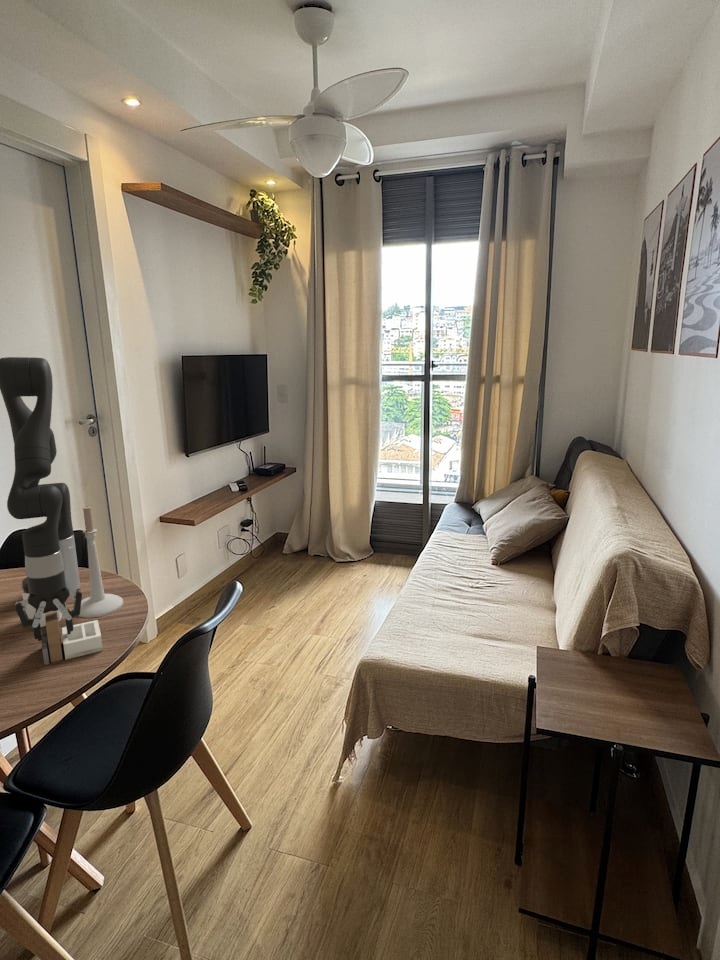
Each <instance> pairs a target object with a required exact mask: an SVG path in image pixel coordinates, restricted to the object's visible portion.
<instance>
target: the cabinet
mask: <svg viewBox="0 0 720 960" xmlns="http://www.w3.org/2000/svg"><path fill="white" fill-rule="evenodd" d="M99 625H100V624H99V620H98V619H95V620H92V621H86V622H82V623H77V624H73V631H71V634H68V635H67V627H66V626H64V627H61V630H62V631H61V632H62V643H63V651H64V652H63V653H64V658H65V660H66V661H67V660H70V659H74V658H78V657H82V656H87V655H91V654H95V653H98V652H102V651H104V649H103V641H102V639H103V638H102V634H101V628H100V626H99ZM42 630H43V629H41V634H42ZM41 650H42V657H43V664H44V666H45V665H47V666H48V665H50V651H49V644H48V637H47V634H44V635H42V641H41Z"/></svg>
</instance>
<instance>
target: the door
mask: <svg viewBox="0 0 720 960" xmlns="http://www.w3.org/2000/svg"><path fill="white" fill-rule="evenodd" d="M45 622H46V626H45V628H42V629H41V630H42V633H41V634H42V635H44V634H47V637H48V644H49V659H50V663H54V662H59V661H62V660H64V659H63V647H62V637H61V632H60V624H59V622H60V621H59V622H58V615H57V611H50V612H47V613H45Z"/></svg>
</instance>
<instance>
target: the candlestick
mask: <svg viewBox="0 0 720 960" xmlns="http://www.w3.org/2000/svg"><path fill="white" fill-rule="evenodd" d="M82 510H83V519H84V527H85V529H84V530H83V531H82V533H83V534H84V537H85V539H87V544H86V545H87V555H88V556H87V557H88V560H87V561H88V575H89V576H88V577H89V588H90V589H89V591H90V594H89V595H90V596H87V597H84V598H83V599H81V609H80V615H79V616H77V617H79V618H84V619H87V618H88V619H89V618H91V619H93V618H100V617H104V616H108V615H110V614H113V613H115V612H116V611H119V610H120V609H121V608H122V607H123V606H124V599H123V598H122V597H121V596H120V595H116V594H113V593H105V590H104V584H103V579H102V574H101V567H100V562H99V556H98V550H97V545H96V544H97V543H96V541H95V538H96V535H97V534H96V532H97V531H98V529H97V528H95V527H94V519H93V511H92V510H93V509H92V507H91V506H84V507H83V508H82ZM72 610H74V607H73V609H72Z"/></svg>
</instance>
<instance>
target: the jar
mask: <svg viewBox="0 0 720 960" xmlns="http://www.w3.org/2000/svg"><path fill="white" fill-rule="evenodd" d="M21 587H22V591H23V592H22V593H21V595H22V601H23V600H26V599H28V597H29V588H28V581H27V577H25V578H24V579H22V581H21ZM25 611H26V614H27V616H28V618H29V619H33V617H34V614H35V611H36V609H35V608H34V607H33V606H31V605H30V604H28V605H27V609H26V610H25ZM57 615H58V622H60V621H61V619H62V618H63V616H64V615H63V614H62V613H61V612H60V611H59V609H58V611H57ZM39 623H40V628H43V627H46V622H45V613H43V614H42V617H41V619H40V622H39Z"/></svg>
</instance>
